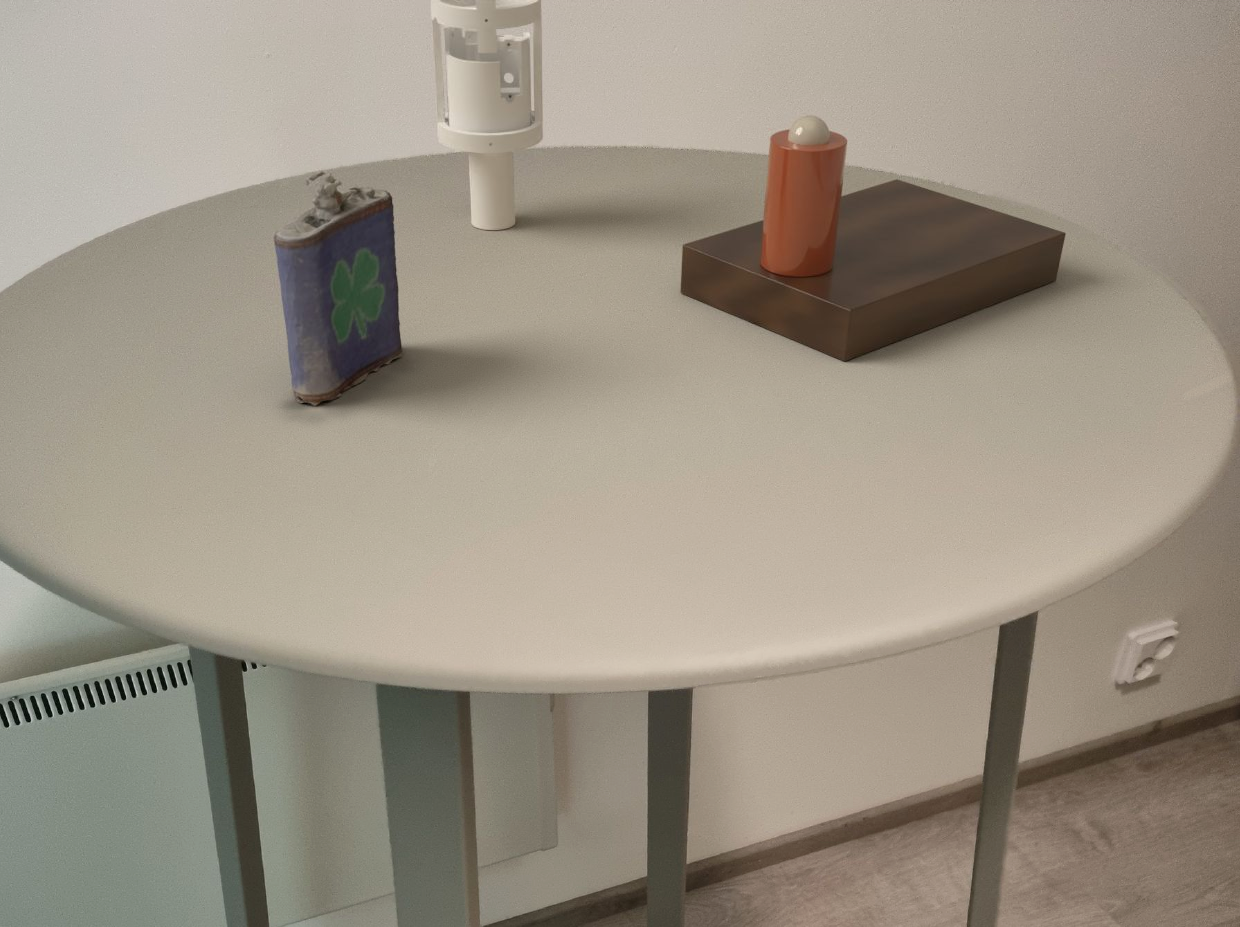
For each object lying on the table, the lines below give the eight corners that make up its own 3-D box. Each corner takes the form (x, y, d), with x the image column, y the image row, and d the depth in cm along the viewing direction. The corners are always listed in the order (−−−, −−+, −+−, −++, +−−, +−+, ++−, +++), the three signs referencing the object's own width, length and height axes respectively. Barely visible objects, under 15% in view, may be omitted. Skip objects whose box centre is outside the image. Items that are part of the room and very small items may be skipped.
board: (1056, 281, 97) (1066, 232, 95) (844, 362, 87) (850, 310, 85) (890, 224, 105) (896, 179, 103) (679, 293, 95) (682, 244, 93)
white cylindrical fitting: (441, 241, 102) (427, -11, 92) (443, 207, 108) (430, -35, 98) (545, 239, 103) (542, -13, 93) (542, 205, 108) (539, -37, 98)
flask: (320, 410, 82) (296, 204, 75) (277, 399, 83) (249, 195, 76) (413, 351, 88) (399, 155, 81) (372, 342, 90) (354, 148, 82)
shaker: (848, 266, 90) (866, 117, 85) (797, 283, 88) (812, 132, 83) (795, 246, 93) (809, 101, 88) (744, 262, 91) (755, 115, 85)
